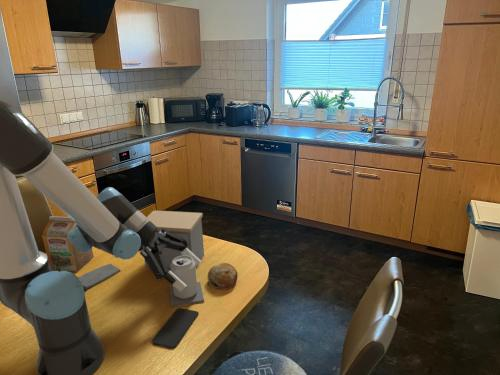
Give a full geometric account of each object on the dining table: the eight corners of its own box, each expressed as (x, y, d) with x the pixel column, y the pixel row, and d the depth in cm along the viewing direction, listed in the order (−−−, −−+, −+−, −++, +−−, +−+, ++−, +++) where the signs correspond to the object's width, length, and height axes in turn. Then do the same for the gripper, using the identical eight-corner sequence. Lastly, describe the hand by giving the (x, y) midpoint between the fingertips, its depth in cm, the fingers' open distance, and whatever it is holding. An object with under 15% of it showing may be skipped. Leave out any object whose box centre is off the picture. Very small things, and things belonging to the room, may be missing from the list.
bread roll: (206, 291, 125) (199, 278, 120) (219, 266, 132) (212, 253, 126) (232, 298, 121) (226, 285, 116) (244, 272, 128) (238, 258, 122)
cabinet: (193, 275, 128) (189, 230, 122) (142, 270, 132) (136, 226, 126) (205, 254, 141) (202, 213, 135) (158, 251, 145) (153, 210, 139)
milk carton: (93, 257, 142) (84, 211, 135) (77, 272, 132) (66, 224, 125) (68, 255, 144) (58, 210, 137) (50, 270, 134) (38, 222, 127)
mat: (204, 301, 114) (204, 299, 114) (171, 307, 112) (170, 305, 112) (200, 283, 124) (200, 281, 123) (169, 288, 121) (169, 286, 121)
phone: (200, 311, 110) (174, 347, 96) (200, 314, 110) (175, 350, 96) (177, 307, 112) (149, 341, 98) (177, 309, 112) (150, 344, 99)
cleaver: (42, 317, 110) (40, 311, 110) (25, 306, 116) (23, 300, 115) (124, 271, 133) (123, 266, 132) (106, 263, 138) (106, 258, 138)
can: (169, 293, 118) (165, 260, 114) (189, 283, 123) (185, 251, 119) (182, 303, 113) (178, 269, 109) (202, 293, 117) (199, 259, 113)
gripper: (150, 219, 126) (196, 261, 128) (111, 257, 103) (168, 307, 105) (163, 205, 123) (210, 248, 125) (126, 241, 100) (184, 293, 102)
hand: (191, 275), depth 115 cm, fingers open, 13 cm apart
